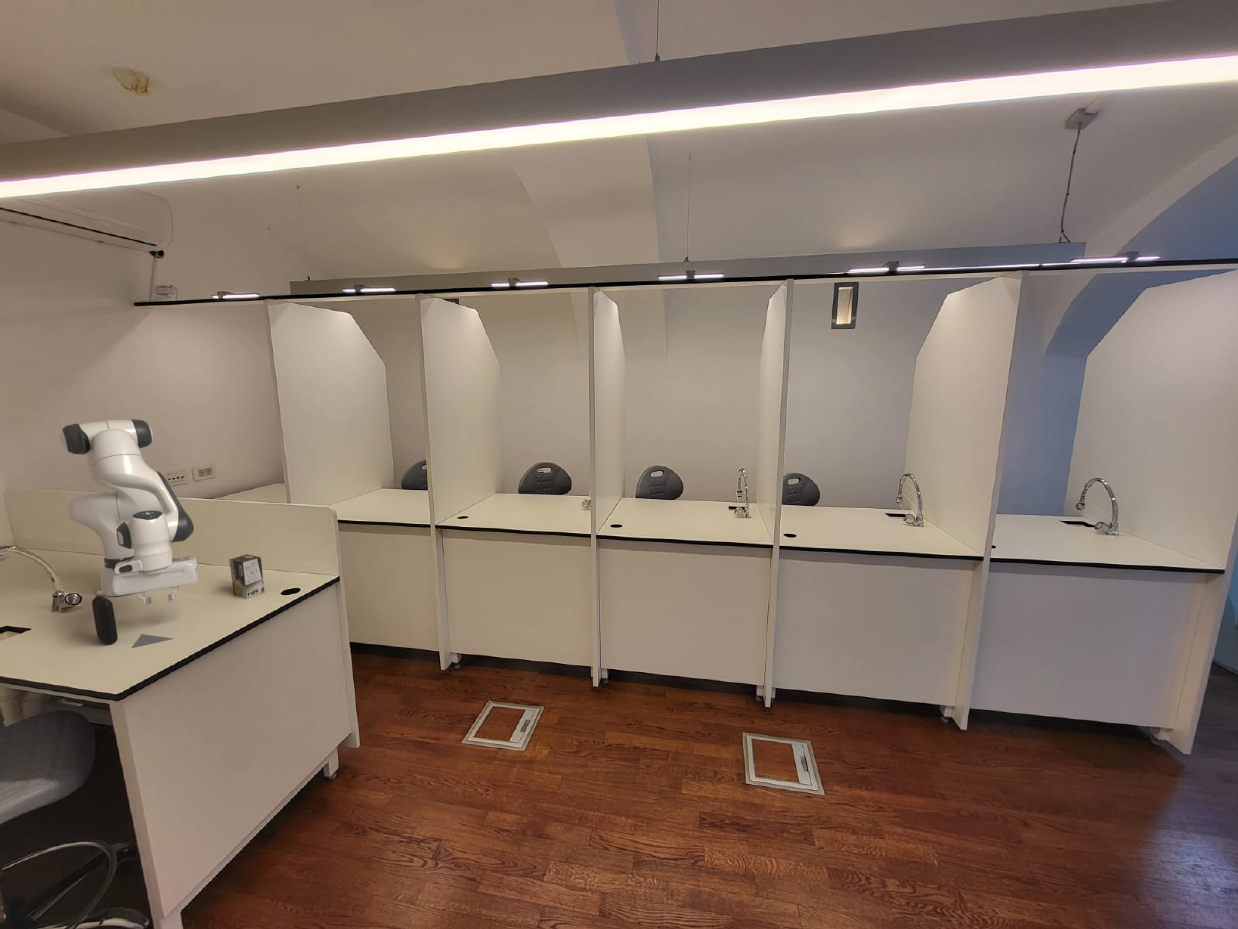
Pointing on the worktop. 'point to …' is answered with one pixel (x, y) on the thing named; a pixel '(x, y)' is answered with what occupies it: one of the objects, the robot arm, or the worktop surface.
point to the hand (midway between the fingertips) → (160, 601)
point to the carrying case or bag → (104, 620)
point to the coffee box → (247, 576)
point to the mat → (149, 640)
